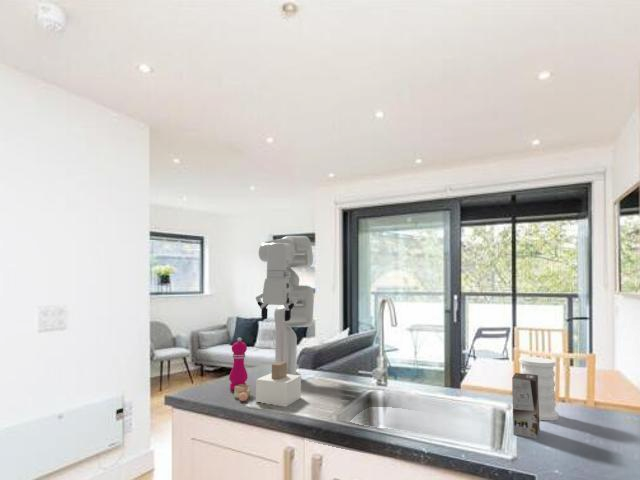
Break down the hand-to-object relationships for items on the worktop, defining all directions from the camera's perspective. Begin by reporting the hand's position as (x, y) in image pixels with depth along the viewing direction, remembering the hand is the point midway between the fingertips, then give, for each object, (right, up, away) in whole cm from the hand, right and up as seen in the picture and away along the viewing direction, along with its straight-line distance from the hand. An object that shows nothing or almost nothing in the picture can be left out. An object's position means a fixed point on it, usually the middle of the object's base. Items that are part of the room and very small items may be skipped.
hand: (275, 319), depth 159 cm
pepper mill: (-16, -29, +6) cm, 34 cm away
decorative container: (+90, -28, -21) cm, 96 cm away
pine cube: (-12, -28, -5) cm, 31 cm away
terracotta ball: (-11, -27, -10) cm, 31 cm away
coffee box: (+78, -26, -37) cm, 90 cm away
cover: (+2, -28, -8) cm, 29 cm away
